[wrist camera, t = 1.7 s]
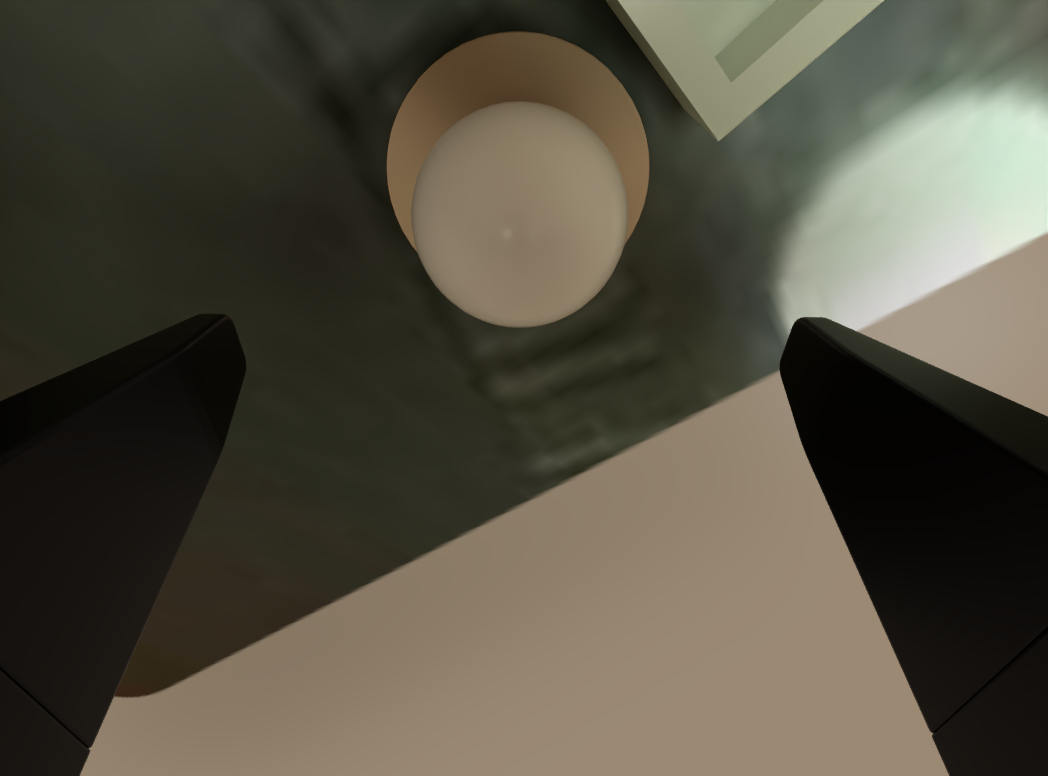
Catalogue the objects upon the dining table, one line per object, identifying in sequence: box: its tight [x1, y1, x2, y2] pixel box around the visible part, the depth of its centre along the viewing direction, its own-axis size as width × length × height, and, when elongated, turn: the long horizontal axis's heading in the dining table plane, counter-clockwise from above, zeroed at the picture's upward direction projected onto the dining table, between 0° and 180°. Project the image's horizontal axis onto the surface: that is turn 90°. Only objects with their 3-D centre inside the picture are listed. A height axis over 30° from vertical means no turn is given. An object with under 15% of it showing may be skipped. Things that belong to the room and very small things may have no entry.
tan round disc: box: [387, 31, 649, 251], centre depth 15 cm, size 7×7×1 cm
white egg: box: [411, 101, 628, 328], centre depth 13 cm, size 5×5×5 cm
